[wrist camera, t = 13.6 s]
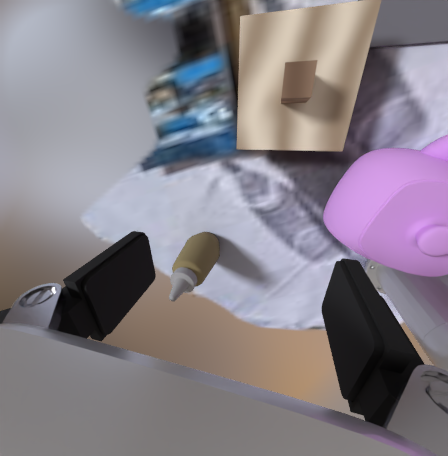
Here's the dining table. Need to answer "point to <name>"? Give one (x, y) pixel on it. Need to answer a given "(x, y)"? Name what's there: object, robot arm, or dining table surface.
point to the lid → (302, 75)
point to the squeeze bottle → (194, 263)
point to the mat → (410, 23)
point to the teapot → (395, 208)
